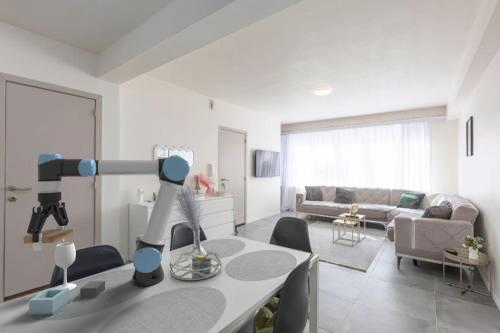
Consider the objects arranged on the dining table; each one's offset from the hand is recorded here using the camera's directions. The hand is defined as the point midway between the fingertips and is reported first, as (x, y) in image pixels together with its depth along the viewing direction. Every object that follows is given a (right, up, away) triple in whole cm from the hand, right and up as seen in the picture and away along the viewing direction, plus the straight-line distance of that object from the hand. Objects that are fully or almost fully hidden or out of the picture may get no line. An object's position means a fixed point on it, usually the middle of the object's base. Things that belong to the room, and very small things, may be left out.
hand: (49, 245), depth 100 cm
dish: (0, -26, 0) cm, 26 cm away
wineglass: (-6, -26, +17) cm, 31 cm away
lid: (0, +3, 0) cm, 3 cm away
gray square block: (+10, -26, +12) cm, 30 cm away
